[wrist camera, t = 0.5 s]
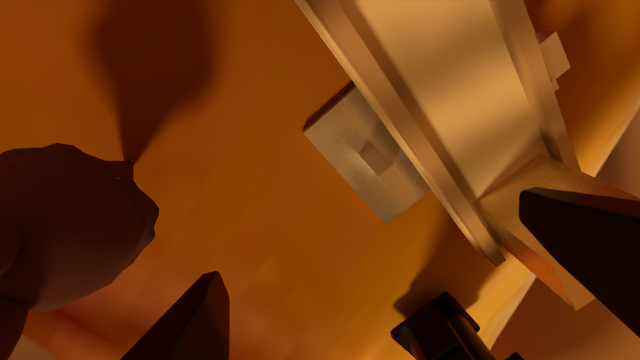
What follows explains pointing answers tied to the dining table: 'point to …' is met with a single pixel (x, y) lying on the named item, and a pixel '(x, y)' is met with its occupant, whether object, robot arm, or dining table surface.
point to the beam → (451, 92)
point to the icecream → (64, 230)
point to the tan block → (516, 238)
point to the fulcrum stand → (388, 143)
